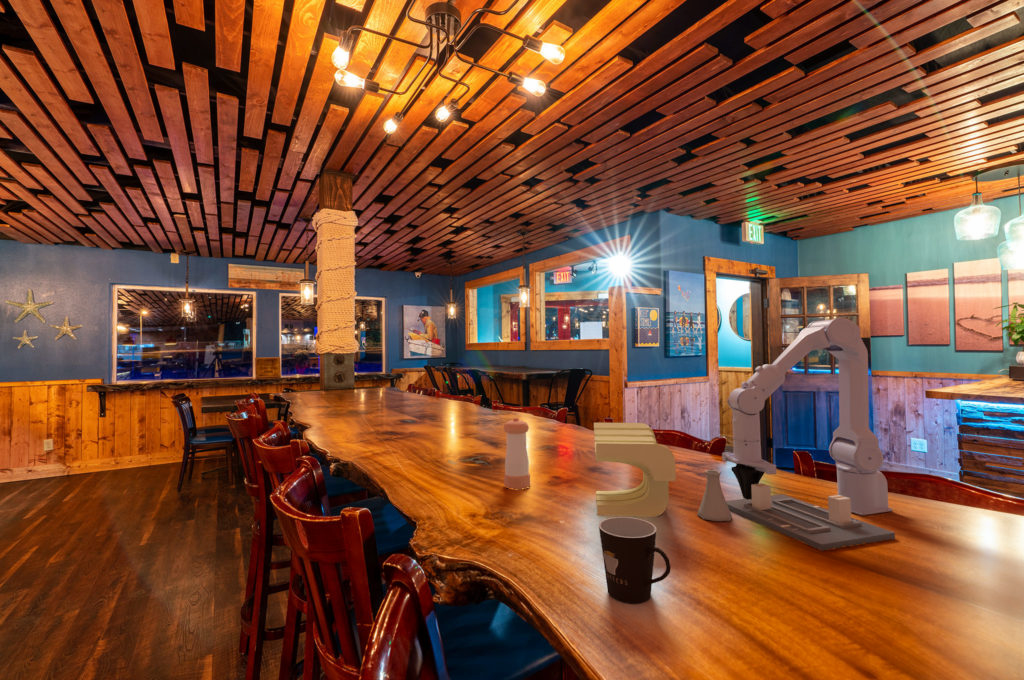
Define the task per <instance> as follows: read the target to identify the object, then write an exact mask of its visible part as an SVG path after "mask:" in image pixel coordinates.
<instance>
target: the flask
mask: <svg viewBox="0 0 1024 680" xmlns="http://www.w3.org/2000/svg"><path fill="white" fill-rule="evenodd" d="M704 473H705V475H706V484H705V485H706V486H705V491H704V493H703V496H702V500H701V502H700V506H699V507H698V511H697V516H699V517H700V518H702V519H703V520H707V521H713V522H728V521H729V522H730V521H732V518H733V517H732V513H731V511H730V510H729V508H728V505H727V503H726V501H727V500H726V498H725V496H724V493H723V490H722V486H721V480H720V476H721V471H720V470H716V469H715V470H714V469H706V470H705V472H704Z"/></svg>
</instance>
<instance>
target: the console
mask: <svg viewBox="0 0 1024 680" xmlns="http://www.w3.org/2000/svg"><path fill="white" fill-rule="evenodd" d="M726 503H727V505H728V508H729V510H730V512H732V513H735V514H737V515H739V516H741V517H744V518H746V519H748V520H751V521H753V522H755V523H757V524H760V525H761V526H764V527H766V528H769V529H771V530H773V531H775V532H777V531H778V533H780V534H782V535H784V534H785V535H784V536H787V537H789V536H790V537H789V538H791V537H792V539H793V538H795V539H794V540H796V539H797V540H796V541H798V540H799V541H798V542H800V541H802V542H804V543H803V544H805V543H806V544H805V545H807V544H808V545H807V546H809V545H810V546H809V547H811V546H813V547H812V548H814V549H816V548H817V550H818V549H820V550H819V551H821V550H822V551H821V552H824V551H823V550H826V551H828V550H827V549H832V550H834V549H833V548H838V549H840V548H839V547H843V546H850V545H856V546H858V545H857V544H862V545H864V544H863V543H868V544H871V543H870V542H874V543H877V542H876V541H879V542H883V541H882V540H885V541H890V540H889V539H891V540H895V539H896V533H895V531H891V530H888V529H885V528H882V527H880V526H877V525H874V524H871V523H868V522H865V521H863V520H859V519H856V518H853V517H851V522H849V523H842V524H838V523H835V522H832V521H829V510H828V509H826V508H824V507H821V506H818V505H816V504H812V503H809V502H806V501H804V500H801V499H797V498H794V497H791V496H790V495H786V494H782V493H781V494H773V495H772V494H771V509H766V510H760V509H757V508H755V507H752V499H749V500H747V499H745V498H739V499H731V500H726ZM802 542H801V543H802ZM850 547H851V546H850Z"/></svg>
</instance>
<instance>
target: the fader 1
mask: <svg viewBox="0 0 1024 680" xmlns="http://www.w3.org/2000/svg"><path fill="white" fill-rule="evenodd" d="M771 488H772V486H771V485H768V484H765V483H760V482H759V484H752V485H751V489H752V507H755V508H757V509H760V510H766V509H771V495H772V491H771V490H772V489H771Z"/></svg>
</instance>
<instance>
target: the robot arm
mask: <svg viewBox="0 0 1024 680" xmlns="http://www.w3.org/2000/svg"><path fill="white" fill-rule="evenodd" d="M816 350H824V351H827V352H828V353H830V355H832V356H833V357H835V359H837V360H838V397H839V398H838V400H839V401H838V402H839V404H838V405H839V409H838V410H839V413H838V414H839V417H838V418H839V420H838V421H839V425H838V427H837V428H836V429H835V430H834V431H833V432H832V440H831V441H830V443H829V447H828V452H829V456H830V457H831V458H832V459H833V460H834V462H835V466H836V478H837V479H836V480H837V482H836V483H837V485H836V486H837V495H841V496H845V497H848V498H850V501H851V513H853V514H856V515H860V516H868V515H874V514H880V513H881V514H882V513H886V512H887V513H888V512H893V508H891V507H889V495H888V494H889V492H888V490H889V489H888V480H887V479H886V476H885V475H884V474H883V473H882V472H881V471H880V468H881V467H882V466H883V463H884V455H883V452H882V450H881V448H880V444H879V438H878V437H877V436H876V435H875V433H873V431H872V430H871V429H870V417H869V415H870V414H869V411H870V410H869V406H870V405H869V353H868V349H867V347H866V345H865V343H864V341H863V339H862V337H861V327H860V326H859V325H857V324H856V323H855V322H853V321H852V320H851V319H848V318H846V317H838V318H837V317H836V318H833V319H824V320H814V321H811V322H810V323H809V324H807V326H806V327H804V328H803V329H802V330H801V331H799V334H798V335H797V337H795V338H794V340H793V341H792V342H791V343H790V344H789V345H788V346H787V347H786V348H785V350H783V352H782V353H780V355H778V356H777V358H776V359H775V360H774V361H773V362H772V363H771V364H768V363H766V364H763V365H762V366H761V365H758V366H756V367H755V369H754V370H755V373H753V374H751V376H750V377H749V378H748V379H747V380H746V381H743V382H741V383H740V385H741V387H738V388H735V389H733V390H732V391H731V392H730V394H729V396H728V398H727V399H726V401H727V405H728V407H729V408H730V409H731V413H732V416H731V417H732V421H731V422H732V441H733V442H732V444H733V445H732V446H733V452H730V451H728V452H727V451H725V452H722V453H721V459H722V461H723V462H729V463H733V464H735V466H731V471H732V472H733V475H734V476H735V478H736V480H737V482H738V485H739V489H740V492H741V495H742V499H747V500H749V499H752V489H751V485H752V484H760V481H761V480H762V477H763V476H764V475H777V465H776V464H774V463H771V462H768V461H767V460H764V459H762V446H761V423H760V422H761V421H760V420H761V419H760V412H761V411H762V410H763V409H764V408H765V404H766V400H767V399H768V398H769V397H771V395H772V394H773V393H774V392H775V391H776V390H778V389H779V387H780V386H781V385H783V384H784V382H785V381H786V377H785V376H786V375H785V374H786V373H787V372H788V371H789V370H791V369H792V368H793V367H794V366H796V365H797V364H798V363H799V362H800V361H801V360H802V359H803V358H804V357H806V356H807V355H808V354H809V353H810V352H812V351H816Z"/></svg>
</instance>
